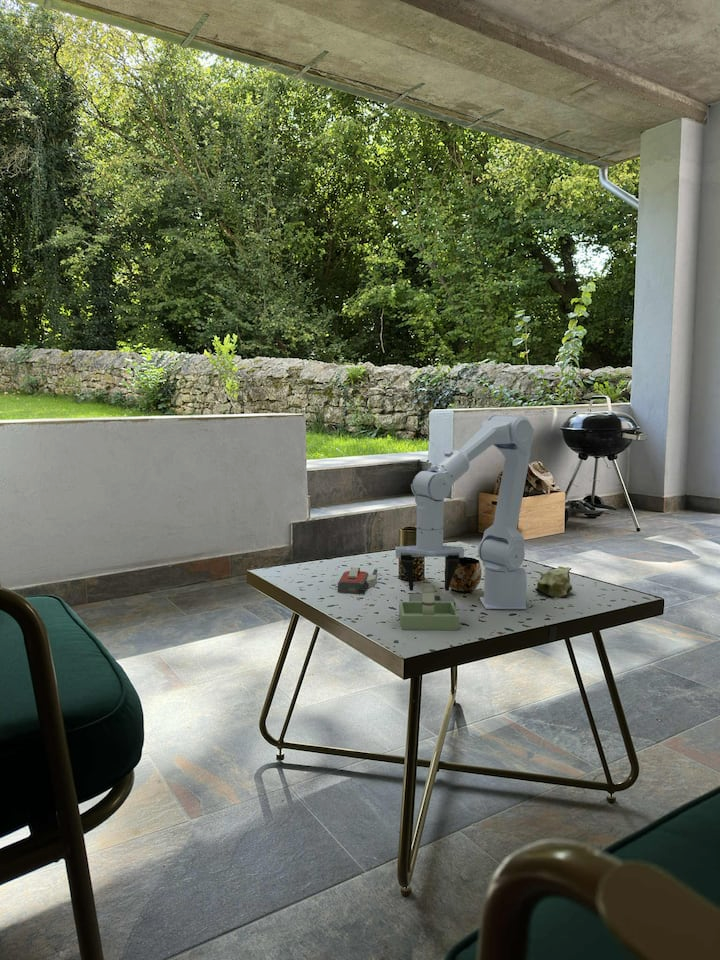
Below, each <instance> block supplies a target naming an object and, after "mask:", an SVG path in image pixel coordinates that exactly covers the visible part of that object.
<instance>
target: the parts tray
mask: <svg viewBox="0 0 720 960" xmlns="http://www.w3.org/2000/svg"><path fill="white" fill-rule="evenodd" d="M398 616H399V620H400V621H399V622H400V627H401V630H402V631H421V630H422V631H459V630H460V615H459V612H458V611H457V608H455V605H454V603H453V602H435V604H434V615H422V602H409V601H398Z"/></svg>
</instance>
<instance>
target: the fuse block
mask: <svg viewBox="0 0 720 960" xmlns="http://www.w3.org/2000/svg"><path fill="white" fill-rule="evenodd" d="M408 595H409V596H408V598H409V599H408V602H422V596H423V593H409V594H408ZM435 602H453V603H454V605H455V608H456V605H457V603H456V601H455V598H454V596H453V593H435ZM456 609H457V608H456Z"/></svg>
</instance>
